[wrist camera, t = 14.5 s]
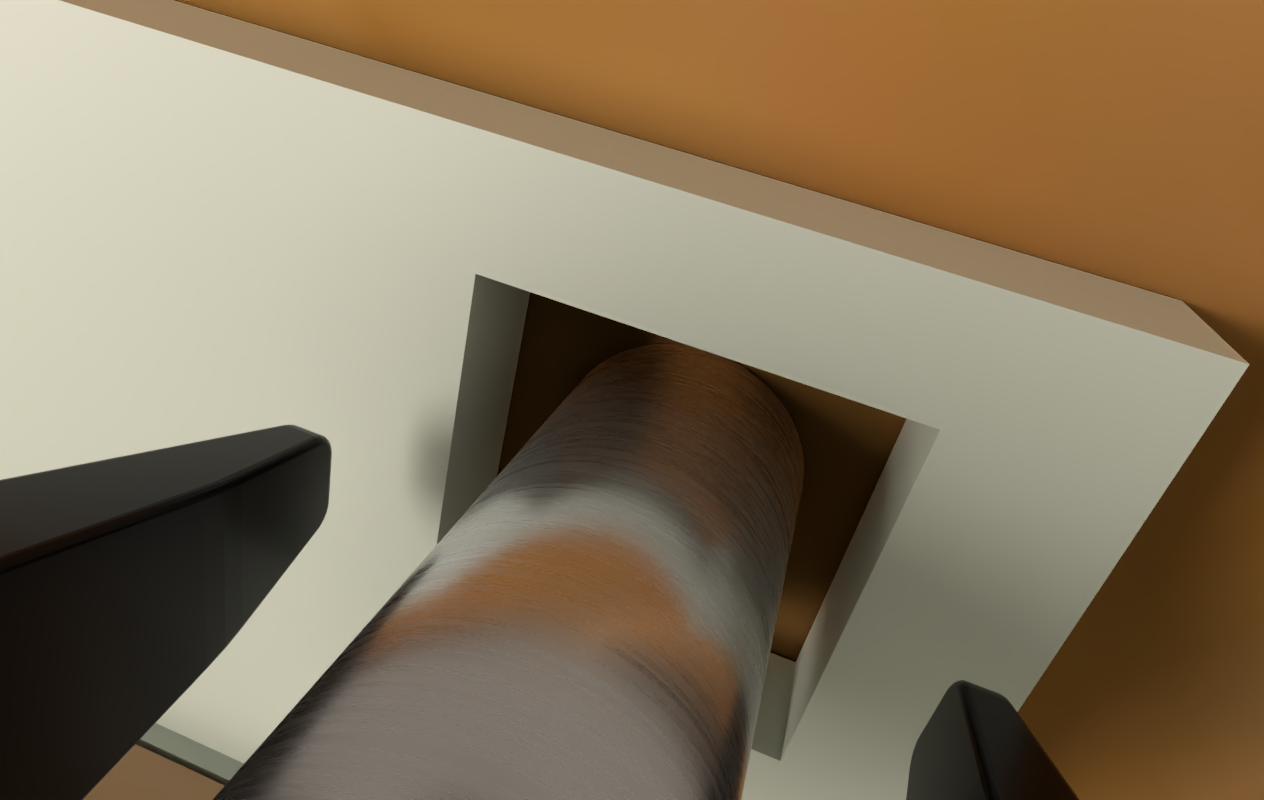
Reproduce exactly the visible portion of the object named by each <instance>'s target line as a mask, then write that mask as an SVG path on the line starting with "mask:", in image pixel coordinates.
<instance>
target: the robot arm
mask: <svg viewBox="0 0 1264 800" xmlns="http://www.w3.org/2000/svg"><path fill="white" fill-rule="evenodd" d="M331 459H332V448H331V444H330V442H329V440H328V439H327V438H326V437H324V436H323V435H320V434H317V433H315V432H312V431H310V430H307V429H304V428H302V427H299V426H296V425H289V424H288V425H282V426H277V427H271V428H266V429H261V430H256V431H251V432H245V433H240V434H235V435H230V436H225V437H220V438H214V439H209V440H204V441H199V442H194V443H188V444H183V445H178V446H173V447H168V448H162V449H157V450H152V451H147V452H142V453H137V454H131V455H126V456H121V457H116V458H111V459H105V460H100V461H95V462H90V463H85V464H80V465H74V466H69V467H64V468H59V469H54V470H48V471H43V472H38V473H33V474H28V475H22V476H17V477H12V478H7V479H2V480H0V800H83V799H84V798H85V797H86V796H87V795H88V793H89V792H90V791H91V790H92V789H93V788H94V787H95V786H96V785H97V784H98V783H99V782H100V781H101V780H102V779H103V778H104V777H105V776H106V774H107V773H108V772H109V771H110V770H111V769H112V768H113V767H114V766H115V765H116V764H117V763H118V762H119V761H120V760H121V759H122V758H123V757H124V756H125V754H126V753H127V752H128V751H129V750H130V749H131V748H132V747H133V746H134V745H135V744H136V743H137V742H138V741H139V740H140V739H141V738H142V737H143V735H144V734H145V733H146V732H147V731H148V730H149V729H150V728H151V727H152V726H153V725H154V724H155V723H156V722H157V721H158V720H159V719H160V718H161V717H162V715H163V714H164V713H165V712H166V711H167V710H168V709H169V708H170V707H171V706H172V705H173V704H174V703H175V702H176V701H177V700H178V699H179V698H180V696H181V695H182V694H183V693H184V692H185V691H186V690H187V689H188V688H189V687H190V686H191V685H192V684H193V683H194V682H195V681H196V680H197V679H198V677H199V676H200V675H201V674H202V673H203V672H204V671H205V670H206V669H207V668H208V667H209V666H210V665H211V664H212V662H213V661H214V660H215V659H216V658H217V657H218V656H219V655H220V654H221V653H222V651H223V650H224V649H225V648H226V647H227V646H228V645H229V643H230V642H231V641H232V640H233V638H234V637H235V636H236V635H237V634H238V632H239V631H240V630H241V629H242V627H243V626H244V625H245V624H246V622H247V621H248V620H249V618H250V617H251V616H252V614H253V613H254V612H255V611H256V609H257V608H258V607H259V605H260V604H261V603H262V601H263V600H264V599H265V598H266V596H267V595H268V594H269V592H270V591H271V590H272V588H273V587H274V586H275V585H276V583H277V582H278V581H279V579H280V578H281V577H282V575H283V574H284V573H285V572H286V570H287V569H288V568H289V566H290V565H291V564H292V562H293V561H294V560H295V559H296V557H297V556H298V555H299V553H300V552H301V551H302V550H303V548H304V547H305V546H306V544H307V543H308V542H309V540H310V539H311V538H312V537H313V535H314V534H315V533H316V531H317V530H318V529H319V527H320V526H321V524H322V522H323V520H324V518H325V515H326V513H327V509H328V504H329V491H330V475H331ZM906 800H1079V798H1078V797H1077V796H1076V794H1075V793H1074V791H1073V790H1072V789H1071V787H1070V786H1069V784H1068V783H1067V782H1066V780H1065V779H1064V777H1063V776H1062V774H1061V773H1060V772H1059V770H1058V769H1057V767H1056V766H1055V765H1054V763H1053V762H1052V760H1051V759H1050V758H1049V756H1048V755H1047V753H1046V752H1045V751H1044V749H1043V748H1042V746H1041V745H1040V743H1039V742H1038V741H1037V739H1036V738H1035V736H1034V735H1033V734H1032V732H1031V731H1030V729H1029V728H1028V727H1027V725H1026V724H1025V722H1024V721H1023V719H1022V718H1021V717H1020V715H1019V714H1018V712H1017V711H1016V710H1015V708H1014V707H1013V705H1012V704H1011V703H1010V702H1009V701H1008V699H1007V698H1006V697H1004V696H1003V695H1001V694H999V693H997V692H994V691H992V690H989V689H986V688H984V687H981V686H979V685H976V684H973V683H971V682H968V681H965V680H960V681H956V682H954V683H953V684H952V685H951V686H950V687H949V688H948V689H947V691H946V692H945V694H944V696H943V698H942V699H941V701H940V703H939V704H938V706H937V708H936V709H935V711H934V713H933V714H932V716H931V718H930V719H929V721H928V723H927V724H926V726H925V728H924V729H923V731H922V733H921V734H920V736H919V738H918V740H917V742H916V745H915V747H914V750H913V754H912V758H911V762H910V769H909V778H908V787H907V796H906Z"/></svg>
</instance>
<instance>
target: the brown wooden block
mask: <svg viewBox="0 0 1264 800" xmlns="http://www.w3.org/2000/svg"><path fill="white" fill-rule="evenodd" d="M224 786H225V785H222V784H220V783H218V782H216V781H214V780H212V779H210V778H207V777H205V776H203V775H201V774H199V773H197V772H195V771H192V770H190V769H188V768H186V767H184V766H182V765H179V764H177V763H175V762H173V761H171V760H169V759H167V758H164V757H162V756H160V755H158V754H156V753H154V752H152V751H149V750H147V749H145V748H143V747H141V746H139V745H136V744H135V745H134V746H133V747H132V748H131V749H130V750H129V751H128V752H127V753H126V754H125V756H124V757H123V758H122V759H121V760H120V761H119V762H118V763H117V764H116V765H115V766H114V767H113V768H112V769H111V770H110V771H109V772H108V773H107V774H106V776H105V777H104V778H103V779H102V780H101V781H100V782H99V783H98V784H97V785H96V786H95V787H94V788H93V789H92V790H91V791H90V792H89V793H88V795H87V796H86V797H85V798H84V799H83V800H213V799H214V797H215V796H216V795H217V794H218V793H219V792H220V791H221V790H222V788H223V787H224Z"/></svg>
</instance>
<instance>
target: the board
mask: <svg viewBox="0 0 1264 800" xmlns="http://www.w3.org/2000/svg"><path fill="white" fill-rule="evenodd" d="M530 292H531V293H534V294H537V295H540V296H543V297H546V298H549V299H552V300H555V301H558V302H561V303H564V304H567V305H570V306H573V307H576V308H579V309H582V310H585V311H588V312H591V313H594V314H597V315H600V316H603V317H606V318H609V319H612V320H615V321H618V322H621V323H624V324H627V325H630V326H633V327H636V328H639V329H642V330H645V331H648V332H651V333H653V334H656V335H659V336H662V337H665V338H668V339H671V340H674V341H677V342H680V343H683V344H686V345H689V346H692V347H695V348H698V349H701V350H704V351H707V352H710V353H713V354H716V355H719V356H722V357H725V358H728V359H731V360H734V361H737V362H740V363H743V364H746V365H749V366H752V367H755V368H758V369H761V370H764V371H767V372H770V373H773V374H776V375H779V376H782V377H784V378H787V379H790V380H793V381H796V382H799V383H802V384H805V385H808V386H811V387H814V388H817V389H820V390H823V391H826V392H829V393H832V394H835V395H838V396H841V397H844V398H847V399H850V400H853V401H856V402H859V403H862V404H865V405H868V406H871V407H874V408H877V409H880V410H883V411H886V412H889V413H892V414H895V415H898V416H901V417H904V418H907V419H906V421H905V423H904V425H903V427H902V430H901V432H900V434H899V436H898V438H897V441H896V443H895V445H894V447H893V449H892V452H891V454H890V456H889V458H888V460H887V462H886V465H885V467H884V469H883V471H882V473H881V476H880V478H879V480H878V482H877V484H876V487H875V489H874V491H873V493H872V495H871V498H870V500H869V502H868V504H867V506H866V509H865V511H864V513H863V515H862V517H861V520H860V522H859V524H858V526H857V528H856V531H855V533H854V535H853V537H852V539H851V542H850V544H849V546H848V548H847V550H846V553H845V555H844V557H843V559H842V561H841V563H840V566H839V568H838V570H837V572H836V574H835V577H834V579H833V581H832V583H831V585H830V588H829V590H828V592H827V594H826V596H825V599H824V601H823V603H822V605H821V607H820V610H819V612H818V614H817V616H816V618H815V621H814V623H813V625H812V627H811V629H810V632H809V634H808V636H807V638H806V640H805V643H804V645H803V647H802V649H801V651H800V653H799V656H798V658H797V660H796V662H794V661H791V660H789V659H786V658H783V657H781V656H778V655H776V654H773V653H771V652H770V656H769V661H768V666H767V671H766V677H765V682H764V687H763V692H762V697H761V702H760V707H759V712H758V717H757V722H756V728H755V733H754V738H753V743H752V748H751V753H750V758H749V763H748V768H747V773H746V779H745V784H744V789H743V794H742V799H741V800H906V796H907V787H908V778H909V769H910V762H911V758H912V754H913V750H914V747H915V745H916V742H917V740H918V738H919V736H920V734H921V733H922V731H923V729H924V728H925V726H926V724H927V723H928V721H929V719H930V718H931V716H932V714H933V713H934V711H935V709H936V708H937V706H938V704H939V703H940V701H941V699H942V698H943V696H944V694H945V692H946V691H947V689H948V688H949V687H950V686H951V685H952V684H953V683H954V682H956V681H960V680H965V681H968V682H971V683H973V684H976V685H979V686H981V687H984V688H986V689H989V690H992V691H994V692H997V693H999V694H1001V695H1003V696H1004V697H1006V698H1007V699H1008V701H1009V702H1010V703H1011V704H1012V705H1013V707H1014V708H1015V710H1016V711H1017V712H1018V711H1019V709H1020V708H1021V706H1022V705H1023V703H1024V702H1025V700H1026V699H1027V697H1028V696H1029V694H1030V693H1031V691H1032V690H1033V688H1034V687H1035V685H1036V684H1037V682H1038V681H1039V679H1040V678H1041V676H1042V675H1043V673H1044V672H1045V670H1046V669H1047V667H1048V666H1049V664H1050V663H1051V661H1052V660H1053V658H1054V657H1055V655H1056V654H1057V652H1058V651H1059V649H1060V648H1061V646H1062V645H1063V643H1064V642H1065V640H1066V639H1067V637H1068V636H1069V634H1070V633H1071V631H1072V630H1073V628H1074V627H1075V625H1076V624H1077V622H1078V621H1079V619H1080V618H1081V616H1082V615H1083V613H1084V612H1085V610H1086V609H1087V607H1088V606H1089V604H1090V603H1091V601H1092V600H1093V598H1094V597H1095V595H1096V594H1097V592H1098V591H1099V589H1100V588H1101V586H1102V585H1103V583H1104V582H1105V580H1106V579H1107V577H1108V576H1109V574H1110V573H1111V571H1112V570H1113V568H1114V567H1115V565H1116V564H1117V562H1118V561H1119V559H1120V558H1121V556H1122V555H1123V553H1124V552H1125V550H1126V549H1127V547H1128V546H1129V544H1130V543H1131V541H1132V540H1133V538H1134V537H1135V535H1136V534H1137V532H1138V531H1139V529H1140V528H1141V526H1142V525H1143V523H1144V522H1145V520H1146V519H1147V517H1148V516H1149V514H1150V513H1151V511H1152V510H1153V508H1154V507H1155V505H1156V504H1157V502H1158V501H1159V499H1160V498H1161V496H1162V495H1163V493H1164V492H1165V490H1166V489H1167V487H1168V486H1169V484H1170V483H1171V481H1172V480H1173V478H1174V477H1175V475H1176V474H1177V472H1178V471H1179V469H1180V468H1181V466H1182V465H1183V463H1184V462H1185V460H1186V459H1187V457H1188V456H1189V454H1190V453H1191V451H1192V450H1193V448H1194V447H1195V445H1196V444H1197V442H1198V441H1199V439H1200V438H1201V436H1202V435H1203V433H1204V432H1205V430H1206V429H1207V427H1208V426H1209V424H1210V423H1211V421H1212V420H1213V418H1214V417H1215V415H1216V414H1217V412H1218V411H1219V409H1220V408H1221V406H1222V405H1223V403H1224V402H1225V400H1226V399H1227V397H1228V396H1229V394H1230V393H1231V391H1232V390H1233V388H1234V387H1235V385H1236V384H1237V382H1238V381H1239V379H1240V378H1241V376H1242V375H1243V373H1244V372H1245V370H1246V369H1247V367H1248V366H1249V363H1248V362H1247V361H1246V360H1244V359H1243V358H1242V357H1241V356H1240V355H1239V354H1238V353H1237V352H1236V351H1235V350H1234V349H1233V348H1232V347H1231V346H1230V345H1229V344H1228V343H1226V342H1225V341H1224V340H1223V339H1222V338H1221V337H1220V336H1219V335H1218V334H1217V333H1216V332H1215V331H1214V330H1213V329H1212V328H1211V327H1209V326H1208V325H1207V324H1206V323H1205V322H1204V321H1203V320H1202V319H1201V318H1200V317H1199V316H1198V315H1197V314H1196V313H1195V312H1194V311H1192V310H1191V309H1190V308H1189V307H1188V306H1187V305H1186V304H1185V303H1184V302H1183V301H1181V300H1178V299H1174V298H1171V297H1168V296H1164V295H1161V294H1158V293H1154V292H1151V291H1148V290H1144V289H1141V288H1137V287H1134V286H1131V285H1127V284H1124V283H1121V282H1117V281H1114V280H1111V279H1107V278H1104V277H1101V276H1097V275H1094V274H1091V273H1087V272H1084V271H1080V270H1077V269H1074V268H1070V267H1067V266H1064V265H1060V264H1057V263H1054V262H1050V261H1047V260H1044V259H1040V258H1037V257H1034V256H1030V255H1027V254H1023V253H1020V252H1017V251H1013V250H1010V249H1007V248H1003V247H1000V246H997V245H993V244H990V243H987V242H983V241H980V240H976V239H973V238H970V237H966V236H963V235H960V234H956V233H953V232H950V231H946V230H943V229H940V228H936V227H933V226H930V225H926V224H923V223H919V222H916V221H913V220H909V219H906V218H903V217H899V216H896V215H893V214H889V213H886V212H883V211H879V210H876V209H873V208H869V207H866V206H862V205H859V204H856V203H852V202H849V201H846V200H842V199H839V198H836V197H832V196H829V195H826V194H822V193H819V192H815V191H812V190H809V189H805V188H802V187H799V186H795V185H792V184H789V183H785V182H782V181H779V180H775V179H772V178H769V177H765V176H762V175H758V174H755V173H752V172H748V171H745V170H742V169H738V168H735V167H732V166H728V165H725V164H722V163H718V162H715V161H712V160H708V159H705V158H701V157H698V156H695V155H691V154H688V153H685V152H681V151H678V150H675V149H671V148H668V147H665V146H661V145H658V144H654V143H651V142H648V141H644V140H641V139H638V138H634V137H631V136H628V135H624V134H621V133H618V132H614V131H611V130H608V129H604V128H601V127H597V126H594V125H591V124H587V123H584V122H581V121H577V120H574V119H571V118H567V117H564V116H561V115H557V114H554V113H551V112H547V111H544V110H540V109H537V108H534V107H530V106H527V105H524V104H520V103H517V102H514V101H510V100H507V99H504V98H500V97H497V96H493V95H490V94H487V93H483V92H480V91H477V90H473V89H470V88H467V87H463V86H460V85H457V84H453V83H450V82H447V81H443V80H440V79H436V78H433V77H430V76H426V75H423V74H420V73H416V72H413V71H410V70H406V69H403V68H400V67H396V66H393V65H390V64H386V63H383V62H379V61H376V60H373V59H369V58H366V57H363V56H359V55H356V54H353V53H349V52H346V51H343V50H339V49H336V48H332V47H329V46H326V45H322V44H319V43H316V42H312V41H309V40H306V39H302V38H299V37H296V36H292V35H289V34H286V33H282V32H279V31H275V30H272V29H269V28H265V27H262V26H259V25H255V24H252V23H249V22H245V21H242V20H239V19H235V18H232V17H229V16H225V15H222V14H218V13H215V12H212V11H208V10H205V9H202V8H198V7H195V6H192V5H188V4H185V3H182V2H178V1H175V0H0V480H2V479H7V478H12V477H17V476H22V475H28V474H33V473H38V472H43V471H48V470H54V469H59V468H64V467H69V466H74V465H80V464H85V463H90V462H95V461H100V460H105V459H111V458H116V457H121V456H126V455H131V454H137V453H142V452H147V451H152V450H157V449H162V448H168V447H173V446H178V445H183V444H188V443H194V442H199V441H204V440H209V439H214V438H220V437H225V436H230V435H235V434H240V433H245V432H251V431H256V430H261V429H266V428H271V427H277V426H282V425H288V424H289V425H296V426H299V427H302V428H304V429H307V430H310V431H312V432H315V433H317V434H320V435H323V436H324V437H326V438H327V439H328V440H329V442H330V444H331V448H332V459H331V475H330V491H329V504H328V509H327V513H326V515H325V518H324V520H323V522H322V524H321V526H320V527H319V529H318V530H317V531H316V533H315V534H314V535H313V537H312V538H311V539H310V540H309V542H308V543H307V544H306V546H305V547H304V548H303V550H302V551H301V552H300V553H299V555H298V556H297V557H296V559H295V560H294V561H293V562H292V564H291V565H290V566H289V568H288V569H287V570H286V572H285V573H284V574H283V575H282V577H281V578H280V579H279V581H278V582H277V583H276V585H275V586H274V587H273V588H272V590H271V591H270V592H269V594H268V595H267V596H266V598H265V599H264V600H263V601H262V603H261V604H260V605H259V607H258V608H257V609H256V611H255V612H254V613H253V614H252V616H251V617H250V618H249V620H248V621H247V622H246V624H245V625H244V626H243V627H242V629H241V630H240V631H239V632H238V634H237V635H236V636H235V637H234V638H233V640H232V641H231V642H230V643H229V645H228V646H227V647H226V648H225V649H224V650H223V651H222V653H221V654H220V655H219V656H218V657H217V658H216V659H215V660H214V661H213V662H212V664H211V665H210V666H209V667H208V668H207V669H206V670H205V671H204V672H203V673H202V674H201V675H200V676H199V677H198V679H197V680H196V681H195V682H194V683H193V684H192V685H191V686H190V687H189V688H188V689H187V690H186V691H185V692H184V693H183V694H182V695H181V696H180V698H179V699H178V700H177V701H176V702H175V703H174V704H173V705H172V706H171V707H170V708H169V709H168V710H167V711H166V712H165V713H164V714H163V715H162V717H161V718H160V719H159V720H158V721H157V722H156V723H155V724H154V725H153V726H152V727H151V728H150V729H149V730H148V731H147V732H146V733H145V734H144V735H143V737H142V738H141V739H140V740H139V741H138V742H137V743H136V745H139V746H141V747H143V748H145V749H147V750H149V751H152V752H154V753H156V754H158V755H160V756H162V757H164V758H167V759H169V760H171V761H173V762H175V763H177V764H179V765H182V766H184V767H186V768H188V769H190V770H192V771H195V772H197V773H199V774H201V775H203V776H205V777H207V778H210V779H212V780H214V781H216V782H218V783H220V784H222V785H226V784H227V783H228V782H229V780H230V779H231V778H232V777H233V776H234V775H235V774H236V772H237V771H238V770H239V769H240V768H241V767H242V766H243V765H244V763H245V762H246V761H247V760H248V759H249V758H250V757H251V755H252V754H253V753H254V752H255V751H256V750H257V749H258V747H259V746H260V745H261V744H262V743H263V742H264V741H265V740H266V738H267V737H268V736H269V735H270V734H271V733H272V732H273V730H274V729H275V728H276V727H277V726H278V725H279V724H280V722H281V721H282V720H283V719H284V718H285V717H286V716H287V715H288V713H289V712H290V711H291V710H292V709H293V708H294V707H295V705H296V704H297V703H298V702H299V701H300V700H301V699H302V697H303V696H304V695H305V694H306V693H307V692H308V691H309V690H310V688H311V687H312V686H313V685H314V684H315V683H316V682H317V680H318V679H319V678H320V677H321V676H322V675H323V674H324V672H325V671H326V670H327V669H328V668H329V667H330V666H331V665H332V663H333V662H334V661H335V660H336V659H337V658H338V657H339V655H340V654H341V653H342V652H343V651H344V650H345V649H346V647H347V646H348V645H349V644H350V643H351V642H352V641H353V640H354V638H355V637H356V636H357V635H358V634H359V633H360V632H361V630H362V629H363V628H364V627H365V626H366V625H367V624H368V622H369V621H370V620H371V619H372V618H373V617H374V616H375V615H376V613H377V612H378V611H379V610H380V609H381V608H382V607H383V605H384V604H385V603H386V602H387V601H388V600H389V599H390V597H391V596H392V595H393V594H394V593H395V592H396V591H397V590H398V588H399V587H400V586H401V585H402V584H403V583H404V582H405V580H406V579H407V578H408V577H409V576H410V575H411V574H412V572H413V571H414V570H415V569H416V568H417V567H418V566H419V565H420V563H421V562H422V561H423V560H424V559H425V558H426V557H427V555H428V554H429V553H430V552H431V551H432V550H433V549H434V547H435V546H436V545H437V544H438V543H439V542H440V541H441V540H442V538H443V537H444V536H445V535H446V534H447V533H448V532H449V530H450V529H451V528H452V527H453V526H454V525H455V524H456V522H457V521H458V520H459V519H460V518H461V517H462V516H463V515H464V513H465V512H466V511H467V510H468V509H469V508H470V507H471V505H472V504H473V503H474V502H475V501H476V500H477V499H478V497H479V496H480V495H481V494H482V493H483V492H484V491H485V490H486V488H487V487H488V486H489V485H490V484H491V483H492V482H493V480H494V479H495V478H496V477H497V474H498V468H499V463H500V457H501V452H502V446H503V441H504V435H505V429H506V424H507V418H508V413H509V407H510V402H511V396H512V391H513V385H514V380H515V374H516V368H517V363H518V357H519V352H520V346H521V341H522V335H523V330H524V324H525V318H526V313H527V307H528V302H529V296H530Z"/></svg>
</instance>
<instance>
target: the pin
mask: <svg viewBox="0 0 1264 800" xmlns="http://www.w3.org/2000/svg"><path fill="white" fill-rule="evenodd" d="M803 480H804V458H803V452H802V446H801V443H800V439H799V436H798V433H797V430H796V428H795V426H794V423H793V421H792V419H791V417H790V415H789V414H788V412H787V410H786V409H785V407H784V406H783V404H782V403H781V401H780V400H779V399H778V398H777V396H776V395H775V394H774V393H773V392H772V391H771V389H770V388H769V387H768V386H767V385H765V384H764V383H763V382H762V381H761V380H760V379H759V378H758V377H757V376H755V375H754V374H753V373H751V372H750V371H748V370H747V369H746V368H744V367H743V366H741V365H739V364H738V363H736V362H734V361H732V360H730V359H728V358H725V357H722V356H719V355H716V354H713V353H710V352H707V351H704V350H701V349H698V348H695V347H692V346H687V345H680V344H654V345H645V346H640V347H636V348H632V349H628V350H626V351H623V352H621V353H618V354H616V355H614V356H612V357H610V358H608V359H607V360H605V361H603V362H601V363H600V364H599V365H598V366H596V367H595V368H594V369H593V370H591V371H590V372H589V373H588V374H587V375H586V376H585V377H584V378H583V379H582V381H581V382H580V383H579V384H578V385H577V386H576V387H575V388H574V390H573V391H572V392H571V393H570V394H569V395H568V396H567V397H566V399H565V400H564V401H563V402H562V403H561V404H560V405H559V407H558V408H557V409H556V410H555V411H554V412H553V413H552V415H551V416H550V417H549V418H548V419H547V420H546V421H545V422H544V424H543V425H542V426H541V427H540V428H539V429H538V430H537V432H536V433H535V434H534V435H533V436H532V437H531V438H530V440H529V441H528V442H527V443H526V444H525V445H524V446H523V447H522V449H521V450H520V451H519V452H518V453H517V454H516V455H515V457H514V458H513V459H512V460H511V461H510V462H509V463H508V465H507V466H506V467H505V468H504V469H503V470H502V471H501V472H500V474H499V475H498V476H497V477H496V478H495V479H494V480H493V482H492V483H491V484H490V485H489V486H488V487H487V488H486V490H485V491H484V492H483V493H482V494H481V495H480V496H479V497H478V499H477V500H476V501H475V502H474V503H473V504H472V505H471V507H470V508H469V509H468V510H467V511H466V512H465V513H464V515H463V516H462V517H461V518H460V519H459V520H458V521H457V522H456V524H455V525H454V526H453V527H452V528H451V529H450V530H449V532H448V533H447V534H446V535H445V536H444V537H443V538H442V540H441V541H440V542H439V543H438V544H437V545H436V546H435V547H434V549H433V550H432V551H431V552H430V553H429V554H428V555H427V557H426V558H425V559H424V560H423V561H422V562H421V563H420V565H419V566H418V567H417V568H416V569H415V570H414V571H413V572H412V574H411V575H410V576H409V577H408V578H407V579H406V580H405V582H404V583H403V584H402V585H401V586H400V587H399V588H398V590H397V591H396V592H395V593H394V594H393V595H392V596H391V597H390V599H389V600H388V601H387V602H386V603H385V604H384V605H383V607H382V608H381V609H380V610H379V611H378V612H377V613H376V615H375V616H374V617H373V618H372V619H371V620H370V621H369V622H368V624H367V625H366V626H365V627H364V628H363V629H362V630H361V632H360V633H359V634H358V635H357V636H356V637H355V638H354V640H353V641H352V642H351V643H350V644H349V645H348V646H347V647H346V649H345V650H344V651H343V652H342V653H341V654H340V655H339V657H338V658H337V659H336V660H335V661H334V662H333V663H332V665H331V666H330V667H329V668H328V669H327V670H326V671H325V672H324V674H323V675H322V676H321V677H320V678H319V679H318V680H317V682H316V683H315V684H314V685H313V686H312V687H311V688H310V690H309V691H308V692H307V693H306V694H305V695H304V696H303V697H302V699H301V700H300V701H299V702H298V703H297V704H296V705H295V707H294V708H293V709H292V710H291V711H290V712H289V713H288V715H287V716H286V717H285V718H284V719H283V720H282V721H281V722H280V724H279V725H278V726H277V727H276V728H275V729H274V730H273V732H272V733H271V734H270V735H269V736H268V737H267V738H266V740H265V741H264V742H263V743H262V744H261V745H260V746H259V747H258V749H257V750H256V751H255V752H254V753H253V754H252V755H251V757H250V758H249V759H248V760H247V761H246V762H245V763H244V765H243V766H242V767H241V768H240V769H239V770H238V771H237V772H236V774H235V775H234V776H233V777H232V778H231V779H230V780H229V782H228V783H227V784H226V785H225V786H224V787H223V788H222V790H221V791H220V792H219V793H218V794H217V795H216V796H215V797H214V799H213V800H741V799H742V794H743V789H744V784H745V779H746V773H747V768H748V763H749V758H750V753H751V748H752V743H753V738H754V733H755V728H756V722H757V717H758V712H759V707H760V702H761V697H762V692H763V687H764V682H765V677H766V671H767V666H768V661H769V656H770V651H771V646H772V641H773V636H774V631H775V625H776V620H777V615H778V610H779V605H780V600H781V595H782V590H783V585H784V580H785V574H786V569H787V564H788V559H789V554H790V549H791V544H792V539H793V534H794V529H795V523H796V518H797V513H798V508H799V503H800V498H801V493H802V487H803Z"/></svg>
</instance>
